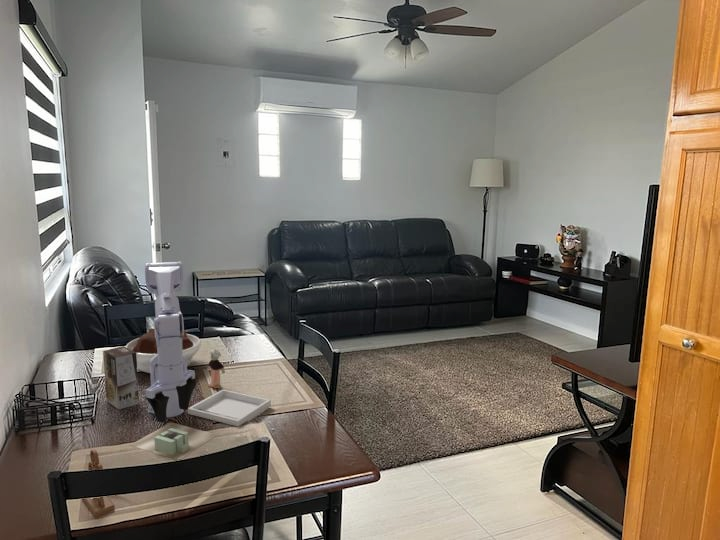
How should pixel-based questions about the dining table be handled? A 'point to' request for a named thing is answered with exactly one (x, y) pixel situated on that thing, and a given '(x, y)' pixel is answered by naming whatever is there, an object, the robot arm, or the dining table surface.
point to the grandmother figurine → (215, 369)
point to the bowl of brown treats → (148, 348)
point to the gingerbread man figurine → (103, 503)
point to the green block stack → (172, 441)
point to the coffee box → (121, 377)
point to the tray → (230, 407)
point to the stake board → (192, 438)
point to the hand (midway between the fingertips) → (172, 415)
